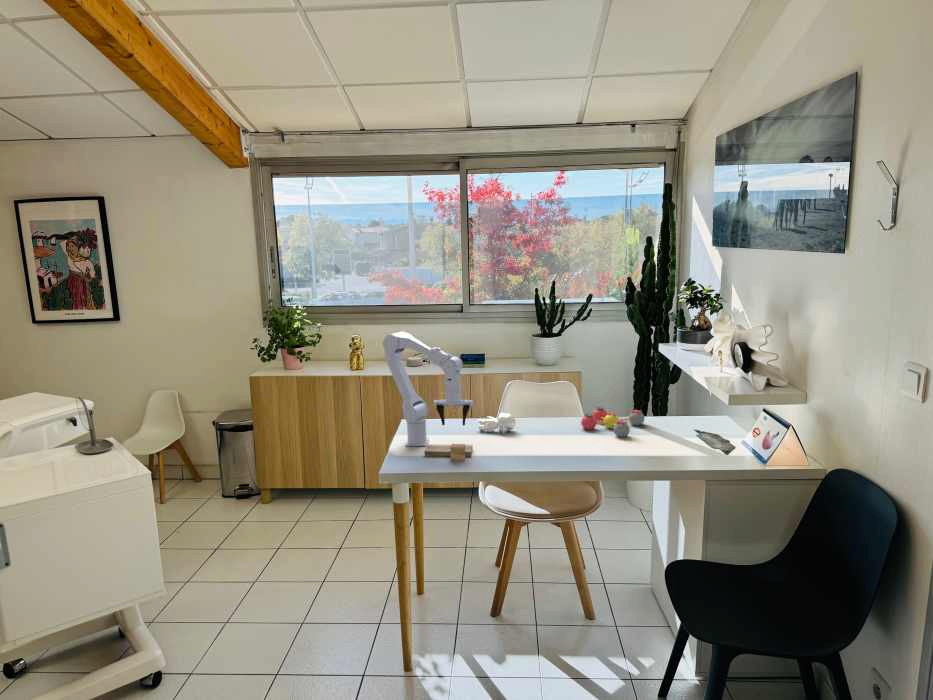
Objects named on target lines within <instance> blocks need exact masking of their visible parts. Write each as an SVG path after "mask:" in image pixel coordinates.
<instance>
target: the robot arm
mask: <svg viewBox="0 0 933 700" xmlns="http://www.w3.org/2000/svg"><path fill="white" fill-rule="evenodd" d="M381 344H382V347H383V348H384V360H385V361H386V363H387V366H388V368H389V371H390V373H391V375H392V377H393V380H394V382H395V384H396V387H397V388H398V391H399V393H400V396H401V397H402V401H403V402H402V405H401V408H402V412H403V418H404V420H405V421H406V428H407V433H406V434H407V440H406V443H405V447H427V445H428V442H429V440H430V438H429V437H427V416H428V415H429V413H430V409H429V406H428V404H427V403H425V401H424V399H423V398H422V397H421V396H420V395H418V394H417V393H416V390H415V388H414V386H413V384H412V382H411V379H410V377H409V375H408V372H407V370H406V367H405V365H404V364H403V360H402V359H401V357H402V354H403V353H404V351H405V350H406V349H411V350H413V351H415V352H417V353H419V354H421V355H423V356H426V359H427V361H428V362H430V363H432V364H433V365H436V366H437V367H439V368H440V369H441V370H442V371H443V373H444V382H445V383H444V384H445V385H444V389H445V390H444V391H445V394H444V395H445V396H444V397H445V399H434V400H433V407H436V408H435V409H436V411H437V413H438V415H439V417H440V420H441V425H442V426H445V424H446V422H445V421H446V420H445V419H446V418H445V407H462V426H465V425H466V419H467V415H468V412H469V410H470V407H473V405H474V400H472V399H462V398H461V396H462V391H461V388H462V387H461V382H462V381H461V371H462V369H463V366H464V363H463V360H462V359H461V357H459V356H458V355H452V354H451V353H447V352H445V351H443V350H442V348H441V347H432V348H431V347H430V346H428V345H426V344H425V343H424V342H422V341H420V340H418V339H417V338H415V337H414V336H413V335H412V334H411V333H407V332H406V331H403V330H401V331H398V332H395V333H388V334H387V335H385V336H384V339H383V341H382V343H381Z"/></svg>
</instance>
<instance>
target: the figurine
mask: <svg viewBox="0 0 933 700" xmlns="http://www.w3.org/2000/svg"><path fill="white" fill-rule="evenodd" d="M516 422H517V420H516V417H515V415H512V414H511V413H505V412H503V411H501V413H499V416H497V417H496V418H495V417H493V416H487V415H486V417H485V419H478V429H479V432H485V431H486V432H488V433H492V432H493V431H496V429H498V431H501V432H502V434H503V435H505V433H507V432H508V431H509V432H510V431H512V430H513V429H514V428H515V427H516V425H517V424H516Z"/></svg>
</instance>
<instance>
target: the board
mask: <svg viewBox="0 0 933 700" xmlns="http://www.w3.org/2000/svg"><path fill="white" fill-rule="evenodd" d="M465 454H466V457H472V454H473V444H465ZM424 457H451V444H427V445H426V446H425V449H424Z"/></svg>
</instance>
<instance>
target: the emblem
mask: <svg viewBox="0 0 933 700" xmlns="http://www.w3.org/2000/svg"><path fill="white" fill-rule="evenodd" d="M693 431H695V432H696V435H695V436H696V437H697V438H698V437H699V438H698V439H700V440H701V441H702V442H703V441H704V442H703V443H705V444H706V445H707V446H709V448H711V449H714V450H719V451H721V452H722V453H724V455H726V456H728V455H729V454H730V453H731V452H732V451H733V450H735V448H736V446H735V445H733V444H732V443H730V440H729V439H726V438H723V436H721V435H720V434H717V433H713V432H707V431H703V430H699V429H695V428H694V430H693ZM701 431H702V432H701ZM698 433H699V434H698Z"/></svg>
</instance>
